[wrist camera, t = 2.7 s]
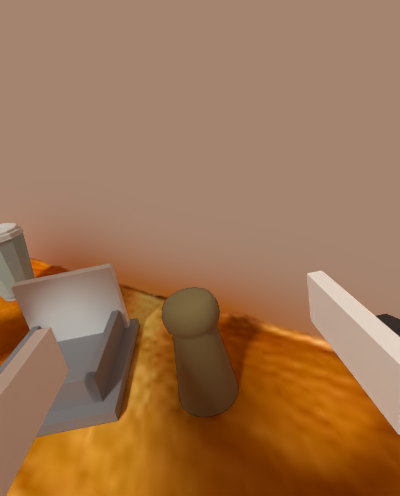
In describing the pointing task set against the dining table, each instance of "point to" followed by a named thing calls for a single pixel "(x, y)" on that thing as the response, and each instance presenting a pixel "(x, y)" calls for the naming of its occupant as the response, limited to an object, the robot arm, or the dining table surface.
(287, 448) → the dining table surface
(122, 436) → the dining table surface
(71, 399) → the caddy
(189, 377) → the cork
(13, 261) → the disposable coffee cup
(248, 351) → the dining table surface
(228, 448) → the dining table surface
